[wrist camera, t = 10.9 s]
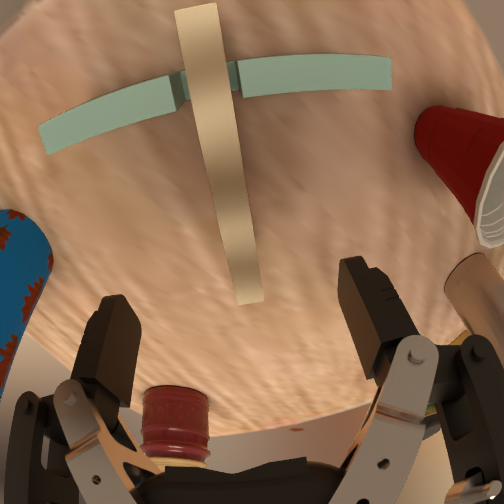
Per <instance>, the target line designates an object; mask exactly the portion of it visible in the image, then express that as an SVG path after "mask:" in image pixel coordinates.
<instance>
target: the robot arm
mask: <svg viewBox="0 0 504 504" xmlns="http://www.w3.org/2000/svg"><path fill="white" fill-rule="evenodd" d="M445 294H446V296H447V297H448V299H449V300H450V302H451V303H452V305H453V307H454V308H455V310H456V312H457V313H458V315H459V317H460V318H461V320H462V322H463V323H464V325H465V327H466V328H467V330H468V332H469V334H470V336H468V337H467V338H466V339H465V340H464V341H463V342H462V344H461V345H436V344H434V343H433V342H432V341H431V340H430V339H428V338H426V337H424V336H421V335H420V334H419V332H418V331H417V329H416V327H415V325H414V323H413V321H412V319H411V317H410V315H409V314H408V312H407V310H406V308H405V306H404V304H403V302H402V301H401V299H400V298H399V295H398V293H397V292H396V290H395V289H394V286H393V285H392V283H391V281H390V279H389V278H388V276H387V275H386V274H385V273H383V272H382V271H381V270H380V269H378V268H377V267H375V268H370V269H369V267H368V266H367V264H366V262H365V260H364V259H363V257H362V256H355V257H350V258H344V259H341V260H340V263H339V277H338V299H339V303H340V306H341V309H342V312H343V314H344V317H345V320H346V322H347V325H348V328H349V330H350V333H351V336H352V339H353V342H354V344H355V347H356V350H357V353H358V356H359V359H360V361H361V364H362V367H363V370H364V373H365V376H366V379H367V380H368V379H371V378H375V377H376V379H377V382H378V385H379V386H378V388H377V391H376V393H375V396H374V398H373V400H372V403H371V405H370V408H369V410H368V412H367V414H366V417H365V419H364V421H363V423H362V426H361V428H360V430H359V432H358V434H357V436H356V438H355V440H354V441H353V443H352V445H351V447H350V448H349V450H348V453H347V454H346V456H345V458H344V460H343V462H342V464H341V465H340V467H339V468H338V467H335V466H332V465H329V464H325V463H321V462H312V461H307V459H306V457H301V458H296V459H289V460H283V461H276V462H269V463H266V464H263V465H261V466H258V467H255V468H252V469H249V470H245V471H243V472H239V473H235V474H229V473H224V472H219V471H214V470H209V469H204V468H200V467H182V466H165V472H161V470H160V469H159V468H158V467H157V466H156V464H155V463H154V462H153V461H152V460H151V459H149V458H148V457H147V456H146V455H145V454H144V453H143V451H142V450H141V448H140V447H139V445H138V444H137V442H136V441H135V439H134V438H133V436H132V434H131V433H130V431H129V429H128V428H127V426H126V424H125V423H124V421H123V419H122V417H121V416H120V415H119V414H118V412H119V407H127V408H130V402H131V395H132V388H133V381H134V374H135V368H136V362H137V356H138V350H139V345H140V339H141V333H142V330H141V324H140V321H139V319H138V317H137V316H136V314H135V312H134V311H133V309H132V308H131V306H130V304H129V303H128V301H127V300H126V298H125V296H124V295H122V294H118V295H111V296H105V297H103V298H102V300H101V303H100V306H99V309H98V311H95V312H94V313H93V315H92V316H91V318H90V319H89V320H88V322H87V325H86V328H85V331H84V335H83V337H82V340H81V344H80V347H79V350H78V353H77V357H76V360H75V364H74V367H73V371H72V374H71V378H70V379H68V380H65V381H63V382H62V383H61V384H60V385H59V386H58V387H57V388H56V390H55V393H54V394H52V395H49V396H46V397H42V398H39V397H38V396H37V395H36V394H35V393H33V392H31V391H27V392H25V393H23V394H22V395H21V396H20V397H19V399H18V400H17V403H16V406H15V411H14V416H13V421H12V427H11V432H10V438H9V446H8V452H7V461H6V471H5V487H4V504H79V490H80V492H81V494H82V496H83V497H84V499H85V501H86V503H87V504H395V503H396V501H397V499H398V497H399V495H400V492H401V491H402V488H403V486H404V484H405V482H406V480H407V477H408V475H409V473H410V470H411V468H412V466H413V463H414V461H415V458H416V456H417V453H418V450H419V448H420V445H421V442H422V439H423V436H424V433H425V428H426V423H425V422H424V415H425V411H426V408H427V405H428V403H434V405H435V409H436V412H437V415H438V419H439V422H440V425H441V429H442V433H443V436H444V440H445V444H446V448H447V452H448V456H449V461H450V465H451V469H452V475H453V480H454V485H453V486H452V487H451V488H450V489H449V491H448V493H447V494H446V497H445V502H444V504H504V280H503V278H502V277H501V276H500V274H499V273H498V272H497V270H496V269H495V268H494V267H493V265H492V264H491V263H490V262H489V261H488V259H487V258H486V257H485V256H484V255H483V254H475V255H472V256H470V257H468V258H467V259H465V260H464V261H463V262H462V263H460V264H459V265H458V266H457V267H456V269H455V270H454V271H453V272H452V274H451V275H450V277H449V278H448V280H447V282H446V285H445ZM43 436H45V437H47V438H48V439H50V444H49V453H48V465H47V469H46V470H45V469H44V468H43V466H42V464H41V452H42V444H43Z"/></svg>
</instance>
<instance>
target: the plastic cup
mask: <svg viewBox="0 0 504 504" xmlns="http://www.w3.org/2000/svg"><path fill="white" fill-rule="evenodd" d="M414 137H415V143H416V146H417V148H418V150H419V151H420V153H421V155H422V156H423V158H424V159H425V160H426V161H427V162H428V163H429V164H430V165H431V167H432V168H433V169H434V170H435V172H436V174H437V175H438V176H439V177H440V178H441V180H442V181H443V182H444V183H445V184H446V186H447V187H448V188H449V189H450V191H451V192H452V193H453V194H454V196H455V197H456V198H457V200H458V201H459V202H460V204H461V205H462V206H463V208H464V210H465V212H466V213H467V215H468V216H469V218H470V220H471V222H472V224H473V225H474V228H475V231H476V235H477V239H478V241H479V243H480V244H481V245H483V246H485V247H487V248H488V249H490V248H494V247H498V246H502V245H503V244H504V118H497V117H493V116H489V115H486V114H482V113H477V112H473V111H469V110H464V109H459V108H456V109H454V108H449V107H444V106H434V107H431V108H428V109H426V110H425V111H424V112H423V113H422V114H421V115H420V117H419V119H418V121H417V123H416V126H415V133H414Z"/></svg>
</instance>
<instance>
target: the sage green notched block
mask: <svg viewBox="0 0 504 504" xmlns="http://www.w3.org/2000/svg"><path fill="white" fill-rule="evenodd" d="M226 65H227V71H228V77H229V83H230V89H231V91H236V90H239V91H240V92H241V94H242V96H243V98H247V97H254V96H262V95H270V94H279V93H289V92H301V91H317V90H346V89H366V90H392V67H391V57H383V56H374V55H362V54H344V53H310V54H289V55H276V56H265V57H256V58H248V59H241V60H234V61H227V62H226ZM189 99H191V97H190V92H189V87H188V82H187V77H186V72H185V70H183V71H179V72H174V73H171V74H167V75H163V76H159V77H156V78H152V79H149V80H146V81H142V82H139V83H136V84H133V85H130V86H127V87H124V88H121V89H118V90H116V91H113V92H110V93H107V94H105V95H102V96H100V97H97V98H95V99H92V100H90V101H87V102H85V103H83V104H81V105H78V106H76V107H74V108H72V109H70V110H68V111H66V112H64V113H62V114H60V115H58V116H56V117H54V118H52V119H50V120H48V121H46V122H44V123H42V124H41V125H39V126H38V129H39V132H40V135H41V138H42V141H43V144H44V147H45V150H46V153H47V155H50V154H52V153H55V152H57V151H59V150H61V149H64V148H66V147H69V146H71V145H73V144H76V143H78V142H81V141H83V140H86V139H89V138H91V137H94V136H97V135H99V134H102V133H105V132H108V131H111V130H114V129H117V128H120V127H123V126H126V125H129V124H132V123H135V122H139V121H142V120H146V119H149V118H153V117H156V116H160V115H164V114H168V113H172V112H176V111H177V110H178V109H179V108H180V106H181V105H182V104H183V103H184V102H185V101H186V100H189Z"/></svg>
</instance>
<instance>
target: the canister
mask: <svg viewBox="0 0 504 504" xmlns="http://www.w3.org/2000/svg"><path fill="white" fill-rule="evenodd" d="M208 412H209V405H208V402H207V398H206V397H205V396H204V395H203V394H201V393H200V392H197V391H195V390H192V389H188V388H183V387H175V386H160V387H154V388H151V389H149V390H147V391H146V393H145V396H144V398H143V417H142V429H141V434H142V435H143V444H142V445H140V448H141V450H142V451H143V452H144V453H145V454H146V456H147V457H148V458H149V459H151V460H152V461H153V462H154V463H155V464H156V466H157V467H158V468H159V469H160V470H162V471H165V466H182V467H200V468H204V467H206V466H207V464H206V463H204V460H205V458H207V457H208V456H210V451H209V450H208V449H207V443H208V440H209V439H210V436H209V426H208Z"/></svg>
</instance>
